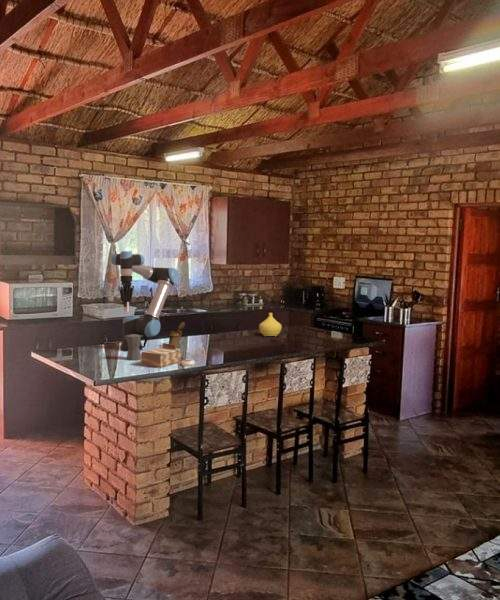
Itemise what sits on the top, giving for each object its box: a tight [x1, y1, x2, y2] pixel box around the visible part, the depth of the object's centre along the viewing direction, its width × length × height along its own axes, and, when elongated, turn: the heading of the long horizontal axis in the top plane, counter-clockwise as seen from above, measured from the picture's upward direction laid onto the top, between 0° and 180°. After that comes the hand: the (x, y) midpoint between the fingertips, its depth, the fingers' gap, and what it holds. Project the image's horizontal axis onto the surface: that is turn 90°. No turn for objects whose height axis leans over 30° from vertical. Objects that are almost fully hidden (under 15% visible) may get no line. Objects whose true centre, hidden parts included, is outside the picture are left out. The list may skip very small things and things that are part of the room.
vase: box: [258, 312, 282, 337], centre depth 458 cm, size 18×18×19 cm
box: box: [140, 350, 181, 369], centre depth 341 cm, size 20×15×8 cm
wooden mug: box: [168, 321, 186, 349], centre depth 401 cm, size 9×14×18 cm, turn 133°
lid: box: [143, 342, 181, 356], centre depth 341 cm, size 19×14×4 cm
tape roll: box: [180, 359, 196, 367], centre depth 340 cm, size 8×8×3 cm
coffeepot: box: [124, 331, 149, 361], centre depth 354 cm, size 15×9×18 cm, turn 90°
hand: (126, 311), depth 359 cm, fingers closed
